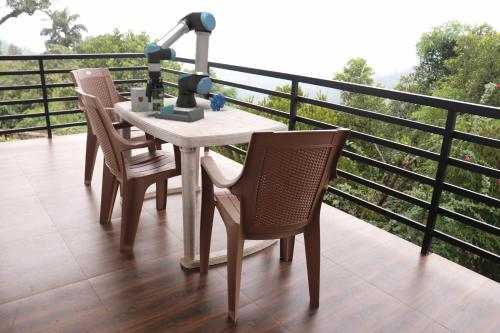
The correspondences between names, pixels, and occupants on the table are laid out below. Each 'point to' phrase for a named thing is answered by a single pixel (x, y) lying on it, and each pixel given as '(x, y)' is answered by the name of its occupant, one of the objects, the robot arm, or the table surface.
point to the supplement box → (139, 99)
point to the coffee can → (157, 99)
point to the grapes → (217, 102)
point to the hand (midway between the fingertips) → (155, 106)
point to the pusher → (167, 109)
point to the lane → (183, 115)
